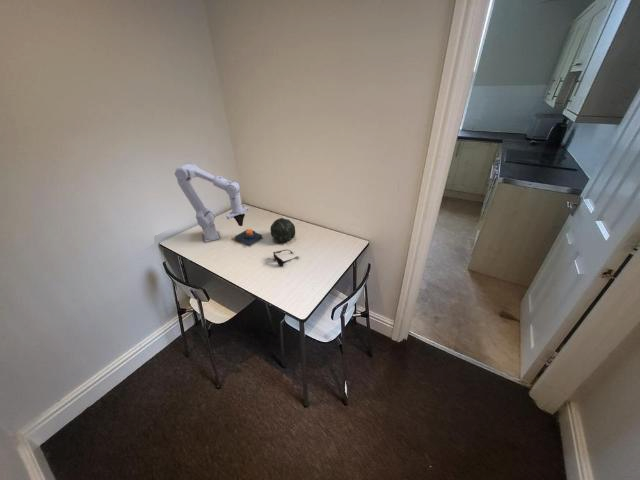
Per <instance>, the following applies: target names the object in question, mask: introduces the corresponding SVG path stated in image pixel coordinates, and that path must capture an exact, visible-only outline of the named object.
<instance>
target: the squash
mask: <svg viewBox="0 0 640 480" xmlns="http://www.w3.org/2000/svg"><path fill="white" fill-rule="evenodd" d="M269 229H270V235H271V237H272V238H273V240H274V241H275V242H276V243H278V242H280V243H285V242H290V241H291V240H293V239H294V238H295V237H296V226H295V224H294V223H293V222H292V221H291V220H290V219H287V218H284V217H279V218H277V219H276V220H274V221H273V222H272V224H271V225H270V227H269Z"/></svg>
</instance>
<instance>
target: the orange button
mask: <svg viewBox="0 0 640 480" xmlns="http://www.w3.org/2000/svg"><path fill="white" fill-rule="evenodd" d="M247 229H248V228H247ZM247 229H245V230H246V235H252V234H253V231H254V230H253V229H252V228H249V229H248V230H247Z"/></svg>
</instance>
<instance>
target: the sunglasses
mask: <svg viewBox="0 0 640 480" xmlns="http://www.w3.org/2000/svg"><path fill="white" fill-rule="evenodd" d="M284 251H286V252H287V249H283V250H282V249H281V250H278V251H277V250H276V251H273V252H272V254H273V258H274V261H275V262H276V263H277V264H278V265H279V266H280V267H283V266H284V264H286V263H289V262H291V261H292V260H295V259H298V258H299V257H298V256H295V257H292V258H290V259H286V260H283V259H282V258H280V257H279V256H278V255H276V254H280V253H282V252H284ZM288 251H289V252H290V253H291V254H293V252H292V251H291V250H290V249H288Z"/></svg>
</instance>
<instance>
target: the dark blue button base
mask: <svg viewBox="0 0 640 480" xmlns="http://www.w3.org/2000/svg"><path fill="white" fill-rule="evenodd" d="M246 230H248V228H247V229H245V230H243V231H242V232H239V233H238V234H236V235H235V236H234V238H235V241H237V242H240V243H241V244H244V245H246V246H248V247H250V246H252V245H254V244H255V243H257V242H259V241H260V240H262V239H263V237H262V234H261V233H258V232H256V231H255V230H253V234H252V235H246Z"/></svg>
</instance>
